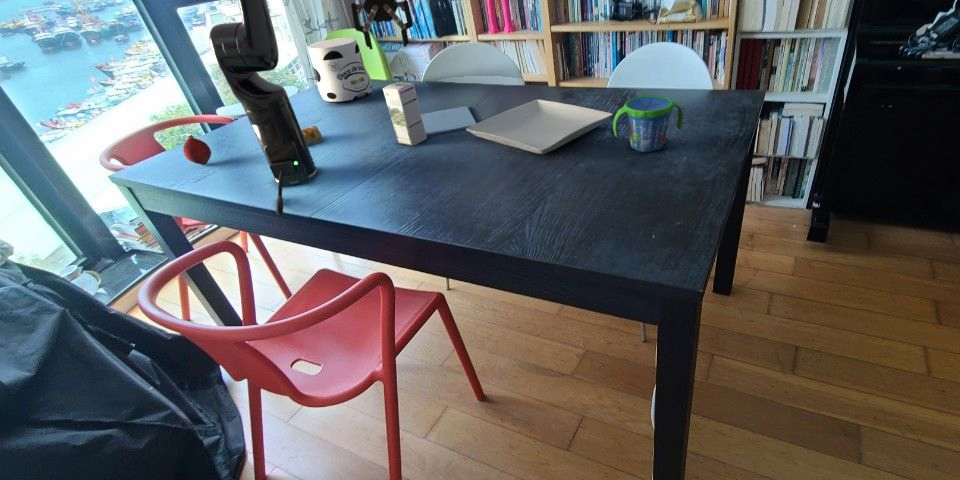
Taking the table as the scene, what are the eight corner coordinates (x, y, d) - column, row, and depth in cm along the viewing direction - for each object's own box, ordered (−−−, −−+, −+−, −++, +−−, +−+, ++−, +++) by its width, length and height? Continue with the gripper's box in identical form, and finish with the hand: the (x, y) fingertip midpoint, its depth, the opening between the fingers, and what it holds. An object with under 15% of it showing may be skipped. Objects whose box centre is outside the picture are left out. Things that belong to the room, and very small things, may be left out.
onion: (199, 171, 123) (182, 141, 118) (187, 167, 126) (171, 138, 121) (221, 162, 127) (205, 132, 122) (209, 158, 129) (194, 130, 125)
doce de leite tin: (366, 105, 157) (349, 46, 147) (315, 109, 158) (294, 51, 148) (381, 89, 171) (366, 35, 160) (334, 93, 172) (316, 39, 161)
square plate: (614, 126, 123) (615, 111, 120) (543, 165, 108) (541, 148, 105) (538, 109, 139) (536, 96, 136) (466, 141, 123) (463, 126, 121)
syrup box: (428, 138, 128) (414, 82, 119) (412, 146, 124) (397, 89, 115) (412, 135, 130) (398, 80, 122) (396, 143, 126) (381, 87, 118)
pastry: (291, 151, 128) (286, 137, 126) (284, 145, 133) (279, 132, 131) (326, 140, 133) (321, 127, 131) (318, 135, 137) (313, 122, 135)
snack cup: (615, 158, 107) (616, 113, 101) (610, 140, 116) (610, 98, 109) (686, 153, 106) (691, 107, 100) (675, 135, 115) (679, 92, 109)
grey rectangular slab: (477, 126, 132) (477, 124, 131) (426, 135, 129) (426, 133, 129) (467, 107, 146) (467, 105, 145) (421, 116, 143) (420, 114, 143)
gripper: (342, -27, 113) (358, 48, 118) (404, -30, 116) (417, 43, 122) (345, -19, 119) (360, 51, 125) (403, -22, 123) (415, 47, 128)
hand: (388, 47), depth 123 cm, fingers open, 8 cm apart
